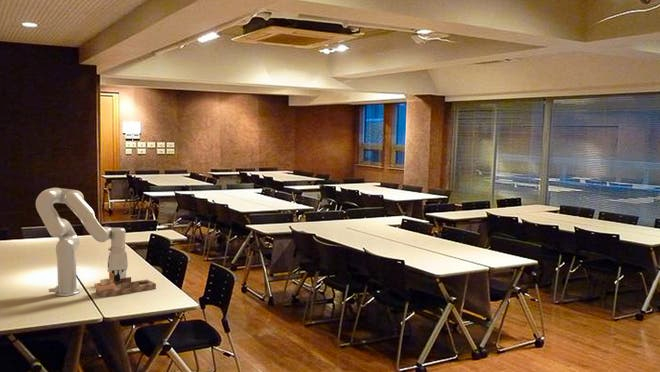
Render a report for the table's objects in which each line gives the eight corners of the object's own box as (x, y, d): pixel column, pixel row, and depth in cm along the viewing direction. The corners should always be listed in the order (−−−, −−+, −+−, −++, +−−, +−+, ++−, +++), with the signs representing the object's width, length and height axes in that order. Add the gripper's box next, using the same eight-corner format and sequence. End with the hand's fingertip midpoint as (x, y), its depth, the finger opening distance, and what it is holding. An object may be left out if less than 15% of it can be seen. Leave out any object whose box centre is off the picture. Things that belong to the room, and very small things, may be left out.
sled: (99, 291, 312) (99, 286, 311) (94, 287, 318) (94, 283, 318) (115, 288, 317) (115, 284, 317) (109, 285, 324) (109, 281, 324)
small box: (109, 283, 341) (108, 262, 340) (117, 281, 346) (117, 260, 345) (118, 285, 337) (117, 264, 336) (126, 283, 342) (126, 262, 341)
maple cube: (103, 290, 315) (103, 281, 314) (100, 288, 319) (100, 279, 318) (112, 288, 318) (112, 280, 318) (109, 287, 322) (109, 278, 321)
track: (103, 297, 311) (103, 286, 311) (95, 292, 321) (95, 282, 321) (156, 288, 330) (155, 278, 330) (147, 284, 340) (146, 274, 340)
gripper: (106, 251, 313) (105, 284, 315) (133, 249, 323) (132, 281, 324) (102, 249, 319) (101, 281, 320) (128, 247, 329) (127, 278, 330)
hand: (116, 281), depth 322 cm, fingers closed
